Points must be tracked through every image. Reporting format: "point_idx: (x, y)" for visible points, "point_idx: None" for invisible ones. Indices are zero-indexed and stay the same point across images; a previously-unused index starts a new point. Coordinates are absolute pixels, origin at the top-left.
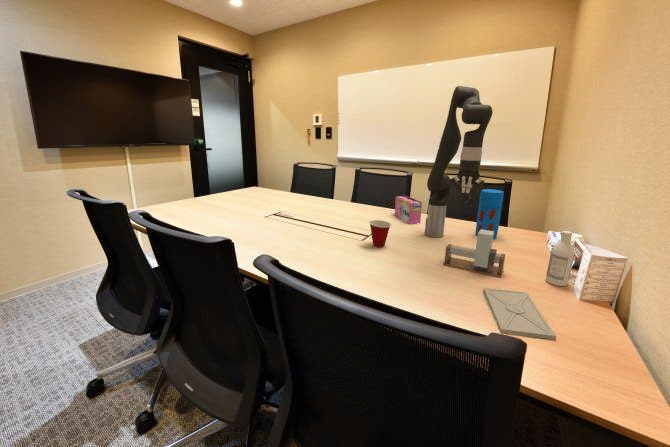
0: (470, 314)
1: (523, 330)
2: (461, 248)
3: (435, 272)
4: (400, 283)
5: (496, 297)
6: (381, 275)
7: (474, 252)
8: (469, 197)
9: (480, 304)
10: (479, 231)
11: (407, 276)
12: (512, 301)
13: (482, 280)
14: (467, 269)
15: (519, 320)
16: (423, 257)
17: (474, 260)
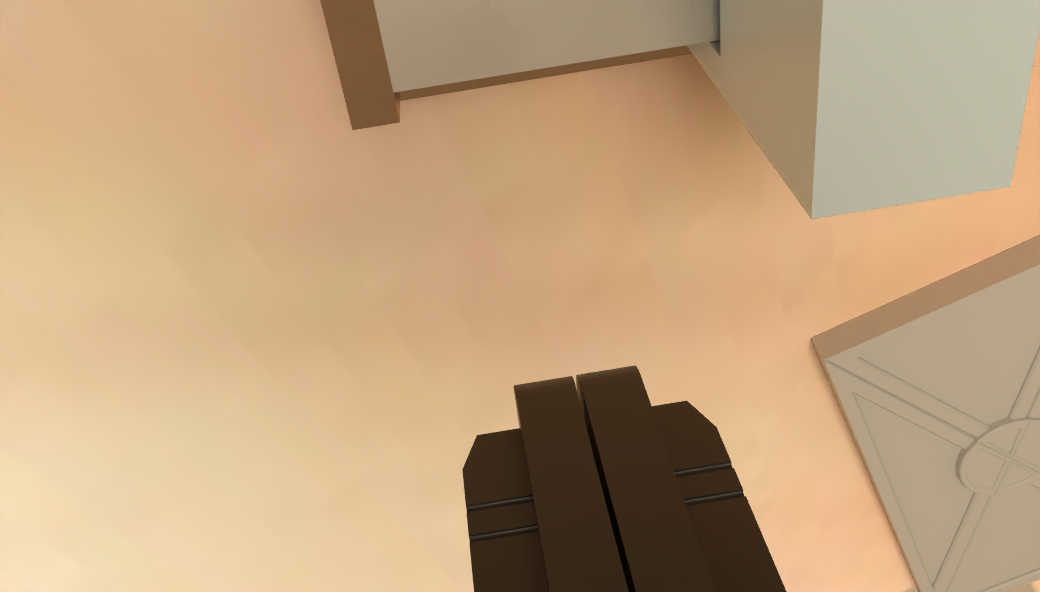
0: (783, 575)
1: (1023, 571)
2: (527, 38)
3: (403, 288)
4: (316, 566)
5: (909, 417)
6: (139, 566)
7: (698, 41)
8: (738, 488)
9: (816, 474)
10: (821, 114)
11: (281, 473)
12: (1000, 391)
13: None
14: (621, 60)
15: (1016, 523)
16: (90, 44)
17: (696, 55)
